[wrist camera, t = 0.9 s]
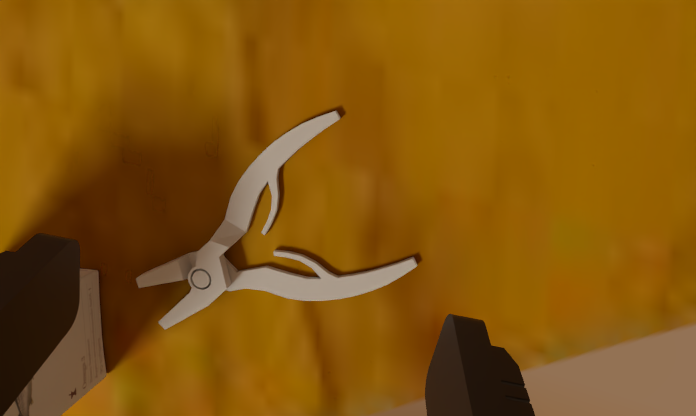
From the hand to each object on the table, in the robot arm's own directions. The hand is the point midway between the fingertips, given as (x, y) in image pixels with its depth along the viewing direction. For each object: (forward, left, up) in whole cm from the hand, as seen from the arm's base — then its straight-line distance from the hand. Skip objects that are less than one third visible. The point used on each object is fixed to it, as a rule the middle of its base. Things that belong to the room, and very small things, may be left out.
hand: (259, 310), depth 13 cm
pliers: (+4, -6, -20) cm, 21 cm away
